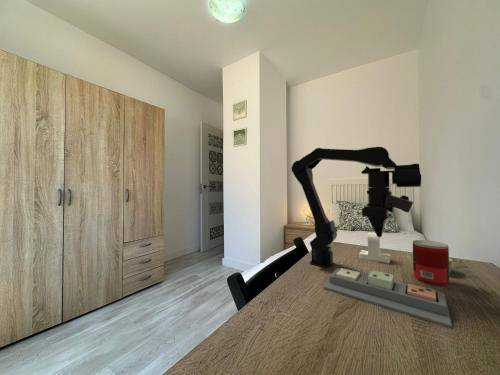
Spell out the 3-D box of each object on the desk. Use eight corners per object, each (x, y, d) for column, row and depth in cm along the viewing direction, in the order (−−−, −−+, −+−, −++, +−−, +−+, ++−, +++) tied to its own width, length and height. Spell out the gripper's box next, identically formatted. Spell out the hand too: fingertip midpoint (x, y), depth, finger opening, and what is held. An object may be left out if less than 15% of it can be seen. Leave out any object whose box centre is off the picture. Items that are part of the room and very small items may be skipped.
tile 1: (336, 281, 58) (336, 272, 58) (341, 275, 61) (341, 267, 62) (355, 286, 54) (355, 277, 54) (360, 280, 58) (359, 271, 58)
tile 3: (407, 301, 47) (407, 290, 47) (408, 292, 51) (408, 282, 51) (436, 309, 44) (436, 297, 44) (435, 299, 48) (435, 288, 48)
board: (323, 288, 56) (323, 279, 56) (339, 272, 66) (339, 264, 66) (451, 327, 39) (451, 315, 39) (445, 298, 50) (445, 288, 50)
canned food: (456, 287, 55) (456, 247, 56) (423, 285, 57) (422, 245, 57) (437, 275, 63) (436, 240, 63) (407, 273, 64) (407, 239, 65)
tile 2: (368, 285, 52) (368, 275, 53) (371, 278, 56) (371, 269, 56) (391, 291, 49) (391, 280, 49) (393, 283, 53) (393, 274, 53)
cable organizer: (361, 254, 84) (361, 230, 84) (390, 259, 78) (390, 233, 78) (359, 258, 80) (358, 232, 80) (389, 263, 74) (389, 236, 74)
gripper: (409, 186, 52) (410, 247, 52) (412, 187, 66) (413, 235, 66) (361, 187, 59) (361, 241, 59) (372, 187, 73) (373, 230, 73)
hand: (379, 236), depth 64 cm, fingers closed
